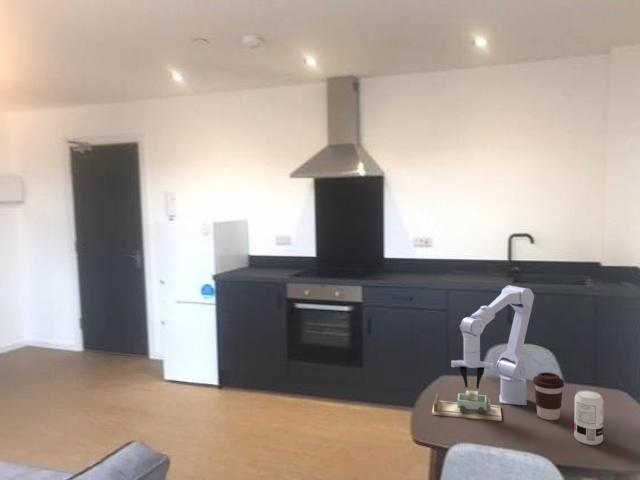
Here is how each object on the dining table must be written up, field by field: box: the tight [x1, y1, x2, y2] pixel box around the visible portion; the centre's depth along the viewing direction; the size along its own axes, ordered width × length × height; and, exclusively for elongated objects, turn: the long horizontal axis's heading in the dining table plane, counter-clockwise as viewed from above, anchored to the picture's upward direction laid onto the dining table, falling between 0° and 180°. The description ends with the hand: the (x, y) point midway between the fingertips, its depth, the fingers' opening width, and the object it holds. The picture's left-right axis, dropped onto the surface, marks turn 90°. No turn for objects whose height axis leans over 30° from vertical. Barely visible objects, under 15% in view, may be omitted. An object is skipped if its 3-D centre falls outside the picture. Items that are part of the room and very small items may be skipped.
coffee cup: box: [532, 372, 565, 421], centre depth 185 cm, size 10×10×15 cm
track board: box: [431, 392, 502, 422], centre depth 192 cm, size 24×11×4 cm, turn 73°
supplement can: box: [573, 389, 604, 446], centre depth 167 cm, size 8×8×15 cm
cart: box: [457, 392, 491, 414], centre depth 191 cm, size 11×9×4 cm
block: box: [465, 390, 479, 402], centre depth 191 cm, size 4×4×4 cm
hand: (471, 387), depth 191 cm, fingers open, 3 cm apart
